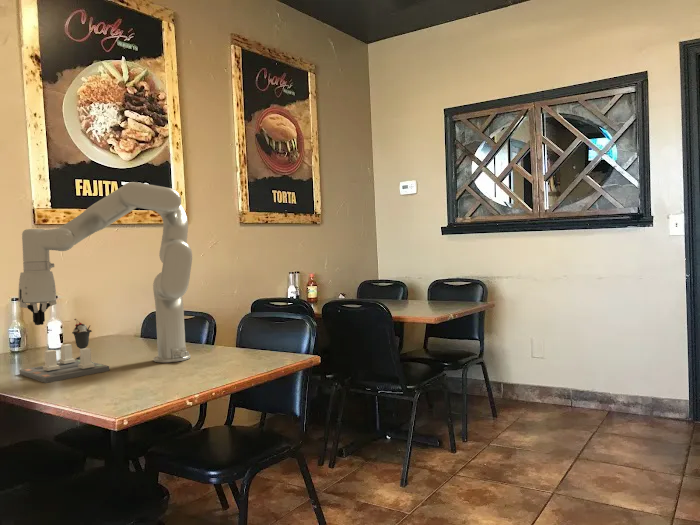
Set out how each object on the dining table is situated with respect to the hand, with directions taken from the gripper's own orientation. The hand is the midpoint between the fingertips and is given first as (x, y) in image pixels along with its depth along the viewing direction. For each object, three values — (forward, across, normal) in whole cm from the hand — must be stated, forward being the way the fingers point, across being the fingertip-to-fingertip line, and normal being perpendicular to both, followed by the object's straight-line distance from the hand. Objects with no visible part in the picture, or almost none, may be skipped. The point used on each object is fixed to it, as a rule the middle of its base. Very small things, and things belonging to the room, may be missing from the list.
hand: (39, 324), depth 188 cm
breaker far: (+15, -11, -7) cm, 20 cm away
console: (+17, -7, 0) cm, 18 cm away
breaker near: (+15, -11, +8) cm, 20 cm away
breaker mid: (+15, -3, 0) cm, 15 cm away
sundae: (+17, -22, -21) cm, 35 cm away
